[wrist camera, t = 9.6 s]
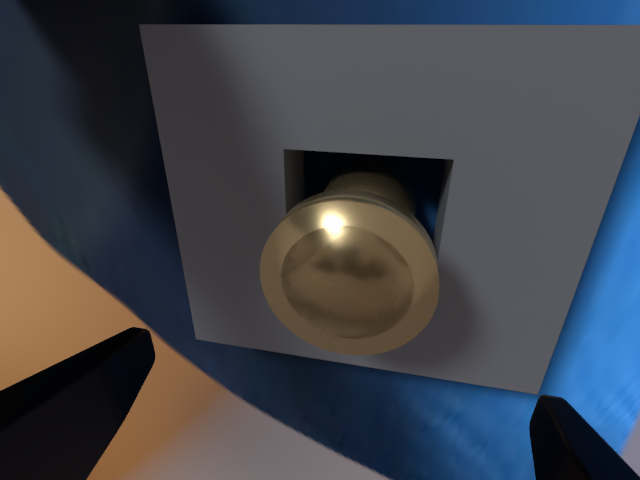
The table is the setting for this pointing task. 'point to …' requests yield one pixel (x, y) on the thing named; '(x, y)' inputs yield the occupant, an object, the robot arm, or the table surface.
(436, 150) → the flange socket
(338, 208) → the brass fitting
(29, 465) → the robot arm
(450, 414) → the table surface
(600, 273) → the table surface
